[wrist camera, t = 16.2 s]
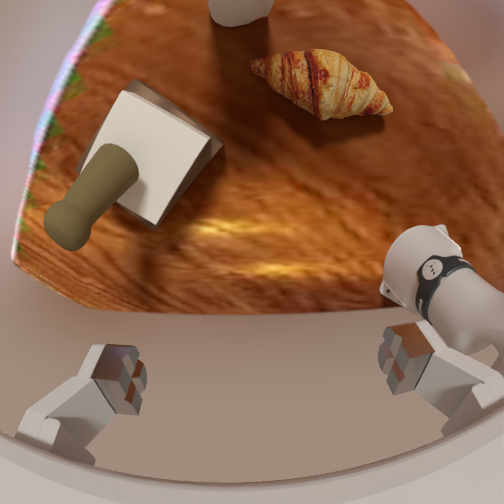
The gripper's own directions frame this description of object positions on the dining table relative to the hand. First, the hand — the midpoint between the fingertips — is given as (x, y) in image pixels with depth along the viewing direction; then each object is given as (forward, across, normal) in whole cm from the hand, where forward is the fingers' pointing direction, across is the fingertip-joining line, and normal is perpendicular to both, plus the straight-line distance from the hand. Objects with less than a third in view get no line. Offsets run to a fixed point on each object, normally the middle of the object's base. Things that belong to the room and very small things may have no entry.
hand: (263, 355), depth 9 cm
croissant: (+35, -11, -10) cm, 38 cm away
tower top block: (+30, +12, -4) cm, 32 cm away
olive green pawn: (+24, +14, -4) cm, 28 cm away
